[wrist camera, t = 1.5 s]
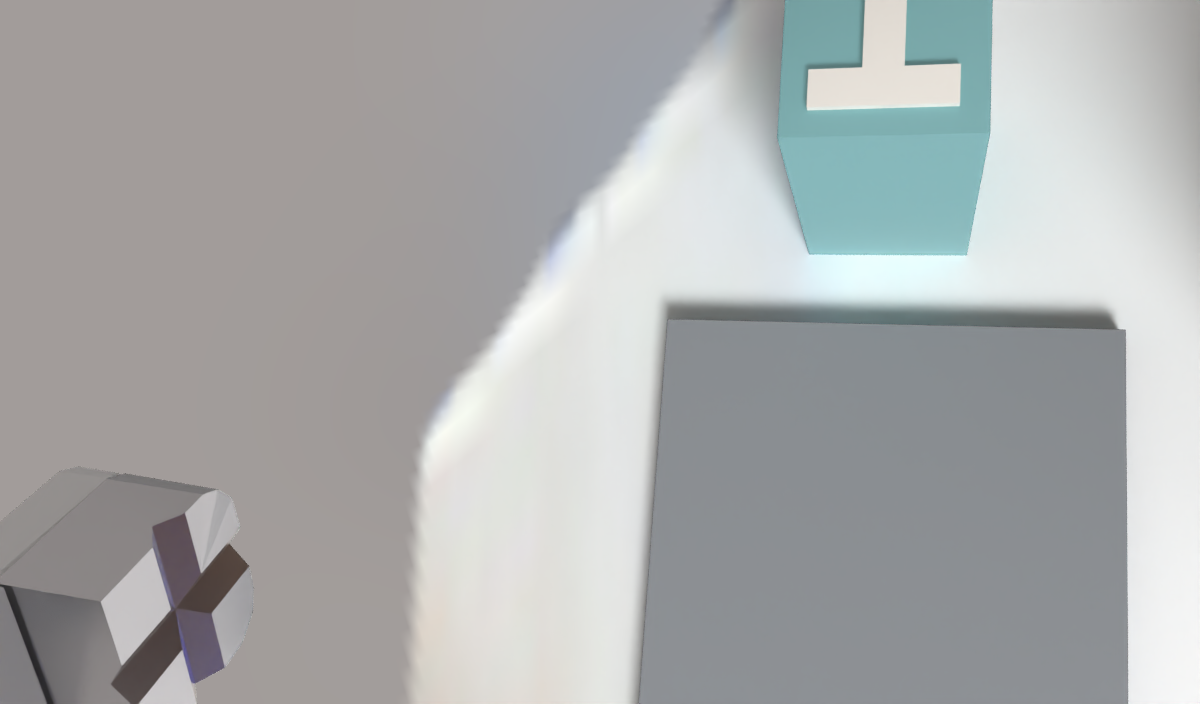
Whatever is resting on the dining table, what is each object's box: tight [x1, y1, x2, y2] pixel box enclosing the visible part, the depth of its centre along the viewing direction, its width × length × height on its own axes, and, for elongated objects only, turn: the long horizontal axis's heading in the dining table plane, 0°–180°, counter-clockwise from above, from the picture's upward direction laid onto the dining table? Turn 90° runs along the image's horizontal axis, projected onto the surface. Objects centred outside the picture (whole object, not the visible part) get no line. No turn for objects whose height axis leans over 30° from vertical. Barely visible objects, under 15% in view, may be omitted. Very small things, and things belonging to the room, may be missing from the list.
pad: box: [639, 319, 1128, 704], centre depth 34 cm, size 14×14×1 cm
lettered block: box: [777, 0, 993, 255], centre depth 32 cm, size 5×5×10 cm
